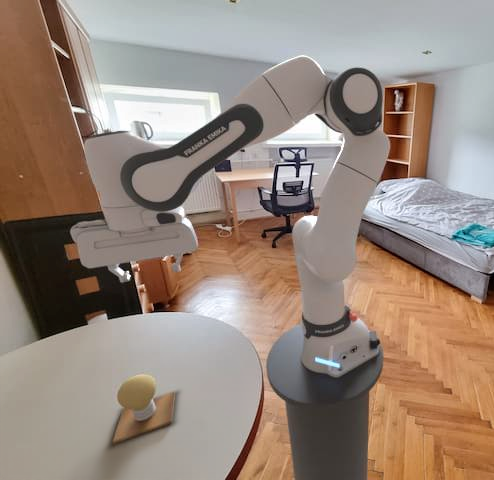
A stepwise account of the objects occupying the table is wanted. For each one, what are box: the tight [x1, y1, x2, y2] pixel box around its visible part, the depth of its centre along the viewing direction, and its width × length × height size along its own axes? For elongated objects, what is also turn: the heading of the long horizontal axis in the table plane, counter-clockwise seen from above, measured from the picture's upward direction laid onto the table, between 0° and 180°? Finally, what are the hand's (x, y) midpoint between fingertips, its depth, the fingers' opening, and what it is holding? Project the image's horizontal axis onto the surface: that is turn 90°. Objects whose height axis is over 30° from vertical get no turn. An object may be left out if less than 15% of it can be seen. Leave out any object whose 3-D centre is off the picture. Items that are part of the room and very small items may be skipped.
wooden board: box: [112, 391, 176, 444], centre depth 62 cm, size 10×8×1 cm
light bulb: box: [116, 373, 157, 421], centre depth 60 cm, size 6×6×10 cm
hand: (152, 275), depth 63 cm, fingers open, 8 cm apart
